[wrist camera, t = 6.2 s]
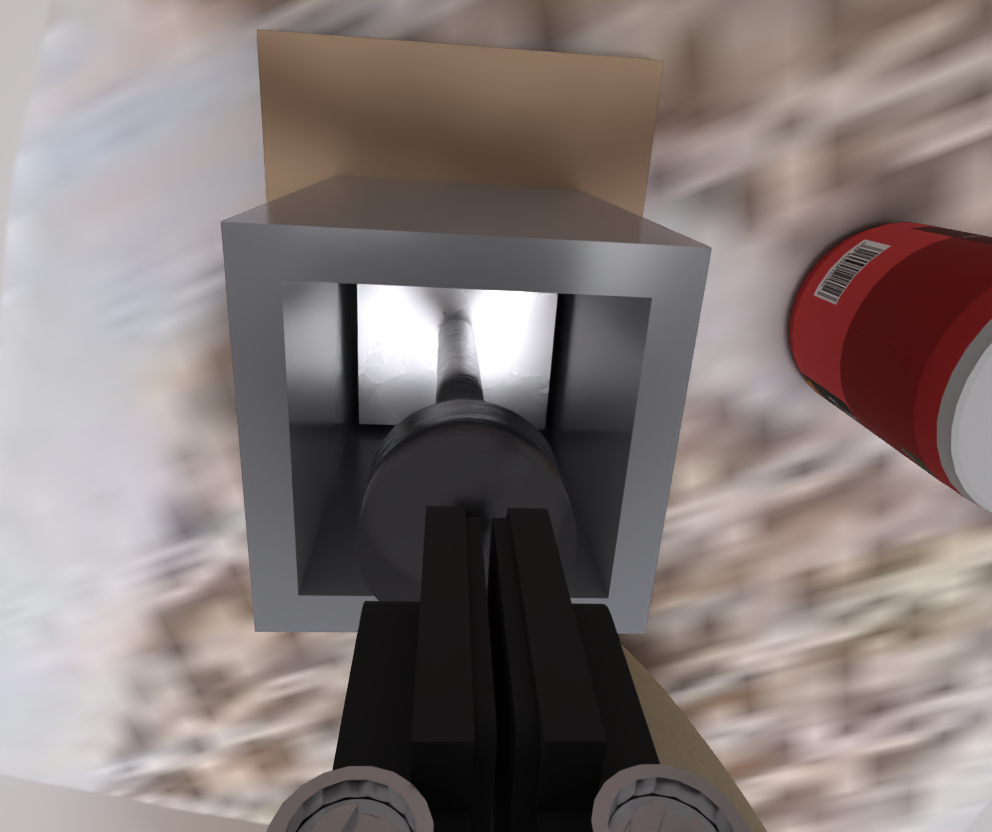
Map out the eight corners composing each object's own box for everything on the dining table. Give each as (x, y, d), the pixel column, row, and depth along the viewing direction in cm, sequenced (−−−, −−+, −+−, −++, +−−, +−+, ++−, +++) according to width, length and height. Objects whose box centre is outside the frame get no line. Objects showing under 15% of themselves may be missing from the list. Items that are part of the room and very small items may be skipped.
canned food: (772, 404, 32) (926, 533, 22) (794, 223, 29) (986, 273, 18) (936, 394, 32) (1163, 517, 22) (975, 214, 29) (1260, 259, 19)
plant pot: (475, 497, 32) (500, 802, 18) (737, 603, 36) (940, 933, 21) (353, 723, 37) (292, 1113, 22) (595, 798, 40) (680, 1180, 26)
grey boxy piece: (335, 175, 25) (221, 220, 12) (580, 189, 26) (711, 247, 13) (342, 463, 30) (262, 719, 17) (552, 468, 30) (630, 718, 18)
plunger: (359, 228, 22) (252, 349, 10) (558, 238, 23) (691, 367, 10) (361, 415, 25) (277, 699, 12) (541, 420, 25) (633, 698, 13)
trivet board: (267, 35, 25) (256, 29, 23) (651, 64, 26) (663, 60, 25) (291, 484, 32) (284, 501, 30) (596, 491, 33) (603, 507, 31)
